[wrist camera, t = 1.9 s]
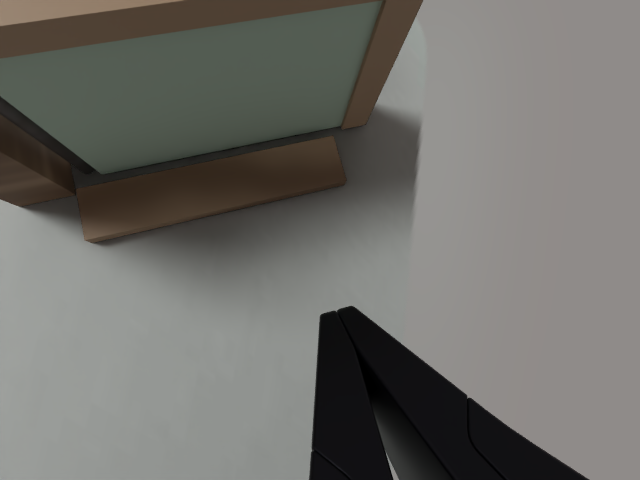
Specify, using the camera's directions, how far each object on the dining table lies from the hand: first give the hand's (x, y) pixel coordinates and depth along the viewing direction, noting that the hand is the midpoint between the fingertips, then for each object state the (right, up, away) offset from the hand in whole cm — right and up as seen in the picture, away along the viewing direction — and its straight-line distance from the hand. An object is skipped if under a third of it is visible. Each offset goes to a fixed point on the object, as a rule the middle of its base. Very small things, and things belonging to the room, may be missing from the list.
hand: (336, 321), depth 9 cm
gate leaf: (-5, +8, +14) cm, 17 cm away
